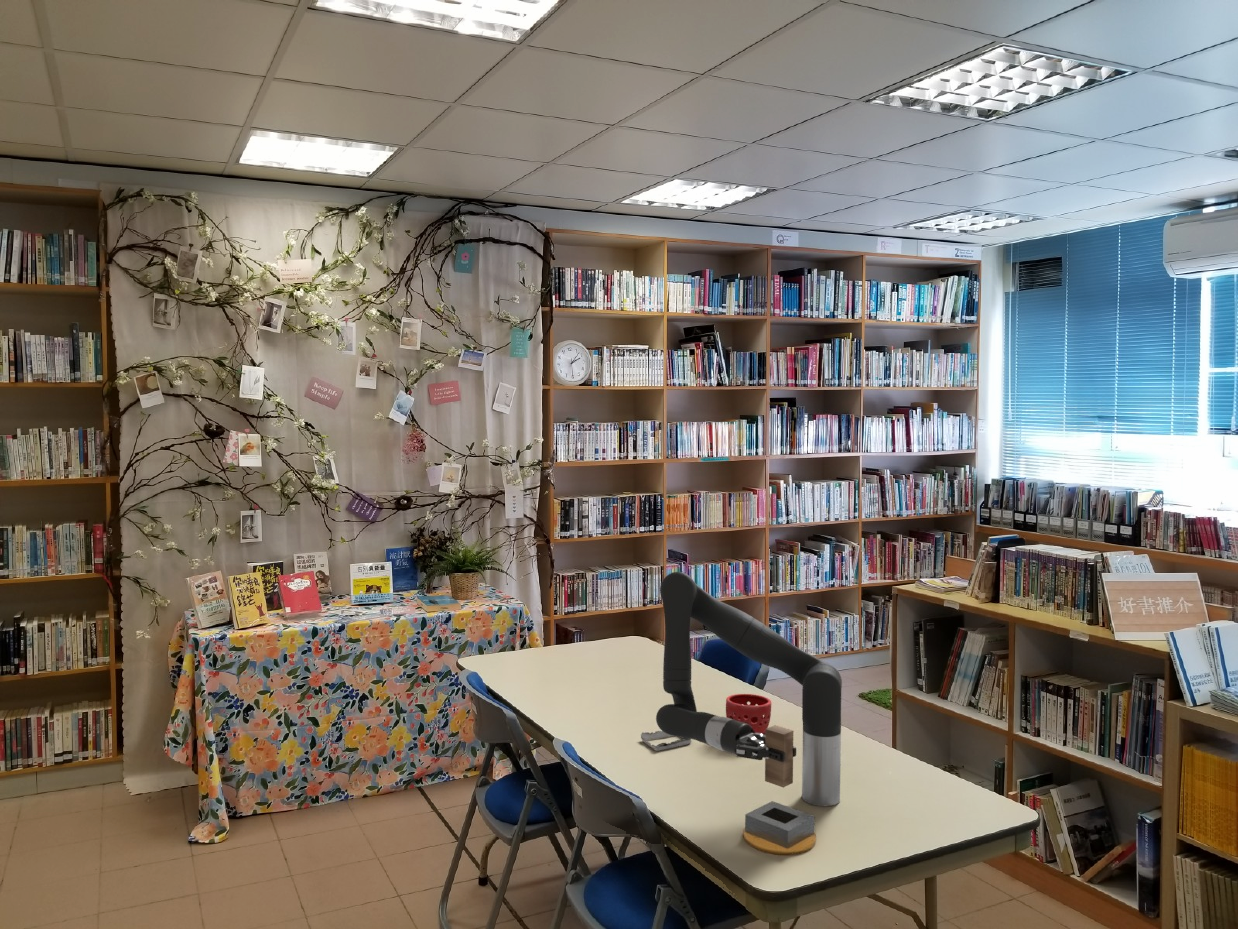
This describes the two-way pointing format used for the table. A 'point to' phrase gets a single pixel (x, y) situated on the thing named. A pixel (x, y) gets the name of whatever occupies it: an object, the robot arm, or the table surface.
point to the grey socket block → (779, 829)
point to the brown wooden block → (775, 769)
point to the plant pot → (750, 710)
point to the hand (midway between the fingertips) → (789, 754)
